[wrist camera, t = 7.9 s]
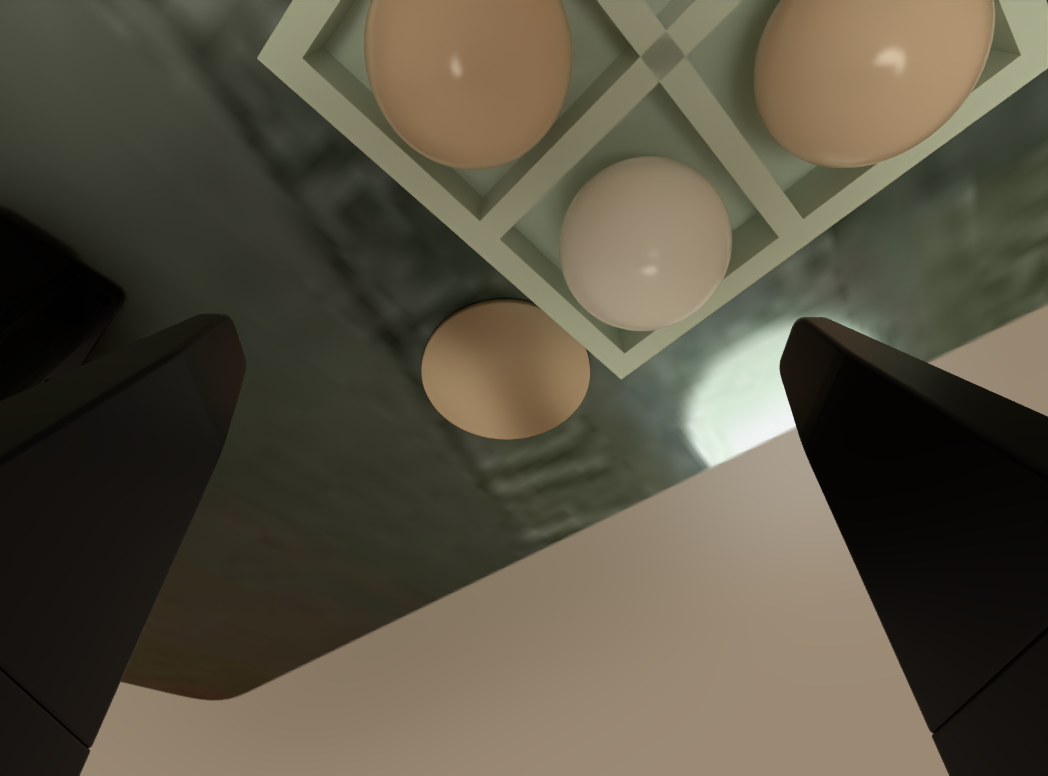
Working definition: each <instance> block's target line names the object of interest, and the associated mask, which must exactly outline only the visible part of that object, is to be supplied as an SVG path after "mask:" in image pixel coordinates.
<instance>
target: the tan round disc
mask: <svg viewBox="0 0 1048 776" xmlns="http://www.w3.org/2000/svg"><path fill="white" fill-rule="evenodd" d="M422 380H423V385H424V388H425V391H426V393H427V396H428V398H429V399H430V401H431V403H432V404H433V405H434V407H435V408H436V409H437V411H438V412H439V413H440V414H441V415H442V416H443V417H445V418H446V419H447V420H448V421H450V422H451V423H453V424H454V425H456V426H458V427H459V428H461V429H463V430H465V431H468V432H470V433H473V434H476V435H479V436H483V437H487V438H495V439H520V438H526V437H531V436H535V435H538V434H541V433H544V432H546V431H548V430H550V429H552V428H554V427H556V426H558V425H559V424H561V423H562V422H564V421H565V420H566V419H567V418H569V417H570V416H571V415H572V414H573V413H574V412H575V411H576V409H577V408H578V407H579V405H580V404H581V402H582V401H583V399H584V397H585V395H586V392H587V389H588V386H589V381H590V365H589V358H588V353H587V350H586V348H585V347H584V346H583V345H581V344H580V343H579V342H578V341H577V340H576V339H575V338H574V337H572V336H571V335H570V334H569V333H568V332H567V331H566V330H564V329H563V328H562V327H561V326H560V325H559V324H558V323H557V322H555V321H554V320H553V319H552V318H551V317H550V316H549V315H547V314H546V313H545V312H544V311H543V310H542V309H541V308H539V307H538V306H537V305H536V304H535V303H532V302H528V301H523V300H517V299H493V300H487V301H482V302H478V303H475V304H472V305H469V306H467V307H465V308H462V309H460V310H458V311H457V312H455V313H454V314H452V315H450V316H449V317H448V318H447V319H445V320H444V321H443V322H442V323H441V324H440V325H439V326H438V327H437V328H436V330H435V331H434V333H433V334H432V336H431V337H430V339H429V341H428V343H427V345H426V349H425V352H424V356H423V360H422Z"/></svg>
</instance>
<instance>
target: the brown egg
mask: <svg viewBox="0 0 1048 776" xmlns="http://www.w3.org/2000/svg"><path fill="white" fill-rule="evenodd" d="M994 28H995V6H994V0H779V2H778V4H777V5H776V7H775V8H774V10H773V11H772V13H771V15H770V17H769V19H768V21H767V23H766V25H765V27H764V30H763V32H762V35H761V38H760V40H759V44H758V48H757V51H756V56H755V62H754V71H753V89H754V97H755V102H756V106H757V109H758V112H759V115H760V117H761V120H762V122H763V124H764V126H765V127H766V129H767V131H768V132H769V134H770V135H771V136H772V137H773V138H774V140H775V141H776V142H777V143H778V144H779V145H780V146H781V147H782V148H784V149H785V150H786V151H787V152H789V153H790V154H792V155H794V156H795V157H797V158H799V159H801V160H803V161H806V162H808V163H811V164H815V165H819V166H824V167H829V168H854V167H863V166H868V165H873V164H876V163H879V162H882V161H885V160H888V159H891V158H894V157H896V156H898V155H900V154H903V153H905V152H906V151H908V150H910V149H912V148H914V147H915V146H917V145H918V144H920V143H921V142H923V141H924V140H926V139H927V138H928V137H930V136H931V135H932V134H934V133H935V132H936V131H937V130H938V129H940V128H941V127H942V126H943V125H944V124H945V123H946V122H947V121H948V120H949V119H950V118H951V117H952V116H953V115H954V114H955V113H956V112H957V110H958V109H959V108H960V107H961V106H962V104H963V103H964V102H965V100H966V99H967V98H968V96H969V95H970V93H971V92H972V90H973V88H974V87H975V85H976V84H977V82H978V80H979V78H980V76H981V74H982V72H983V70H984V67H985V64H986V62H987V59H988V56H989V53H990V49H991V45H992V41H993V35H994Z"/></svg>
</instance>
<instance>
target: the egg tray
mask: <svg viewBox="0 0 1048 776" xmlns="http://www.w3.org/2000/svg"><path fill="white" fill-rule="evenodd" d="M561 1H562V3H563V6H564V9H565V11H566V14H567V18H568V22H569V26H570V31H571V39H572V55H573V64H572V73H571V80H570V85H569V89H568V93H567V96H566V99H565V102H564V105H563V107H562V109H561V111H560V113H559V115H558V117H557V119H556V121H555V122H554V124H553V125H552V127H551V128H550V130H549V131H548V132H547V134H546V135H545V136H544V137H543V138H542V139H541V141H540V142H539V143H538V144H536V145H535V146H534V147H533V148H532V149H531V150H530V151H528V152H527V153H526V154H524V155H523V156H521V157H520V158H518V159H516V160H514V161H512V162H510V163H508V164H505V165H502V166H499V167H495V168H491V169H485V170H462V169H457V168H451V167H448V166H445V165H442V164H439V163H436V162H434V161H432V160H430V159H428V158H426V157H425V156H423V155H421V154H420V153H418V152H417V151H415V150H414V149H413V148H412V147H410V146H409V145H408V144H407V143H406V142H405V141H404V140H403V139H402V138H401V137H400V136H399V135H398V134H397V133H396V132H395V131H394V129H393V128H392V127H391V126H390V124H389V123H388V122H387V120H386V118H385V117H384V115H383V113H382V112H381V110H380V108H379V106H378V104H377V102H376V100H375V98H374V95H373V92H372V89H371V86H370V83H369V80H368V75H367V71H366V66H365V56H364V32H365V25H366V17H367V13H368V9H369V6H370V2H371V0H293V1H292V2H291V4H290V6H289V7H288V9H287V11H286V12H285V14H284V15H283V17H282V19H281V20H280V22H279V23H278V25H277V27H276V28H275V30H274V31H273V33H272V35H271V36H270V38H269V40H268V41H267V43H266V44H265V46H264V48H263V49H262V51H261V52H260V54H259V56H258V57H257V59H258V60H259V61H260V62H261V63H263V64H264V65H265V66H266V67H267V68H268V69H269V70H271V71H272V72H273V73H274V74H275V75H276V76H277V77H278V78H280V79H281V80H282V81H283V82H284V83H285V84H286V85H288V86H289V87H290V88H291V89H292V90H293V91H294V92H295V93H297V94H298V95H299V96H300V97H301V98H302V99H303V100H305V101H306V102H307V103H308V104H309V105H310V106H311V107H313V108H314V109H315V110H316V111H317V112H318V113H319V114H320V115H322V116H323V117H324V118H325V119H326V120H327V121H328V122H330V123H331V124H332V125H333V126H334V127H335V128H336V129H337V130H339V131H340V132H341V133H342V134H343V135H344V136H345V137H347V138H348V139H349V140H350V141H351V142H352V143H353V144H354V145H356V146H357V147H358V148H359V149H360V150H361V151H362V152H364V153H365V154H366V155H367V156H368V157H369V158H370V159H372V160H373V161H374V162H375V163H376V164H377V165H378V166H379V167H381V168H382V169H383V170H384V171H385V172H386V173H387V174H389V175H390V176H391V177H392V178H393V179H394V180H395V181H396V182H398V183H399V184H400V185H401V186H402V187H403V188H404V189H406V190H407V191H408V192H409V193H410V194H411V195H412V196H414V197H415V198H416V199H417V200H418V201H419V202H420V203H421V204H423V205H424V206H425V207H426V208H427V209H428V210H429V211H431V212H432V213H433V214H434V215H435V216H436V217H437V218H438V219H440V220H441V221H442V222H443V223H444V224H445V225H446V226H448V227H449V228H450V229H451V230H452V231H453V232H454V233H455V234H457V235H458V236H459V237H460V238H461V239H462V240H463V241H465V242H466V243H467V244H468V245H469V246H470V247H471V248H473V249H474V250H475V251H476V252H477V253H478V254H479V255H480V256H482V257H483V258H484V259H485V260H486V261H487V262H488V263H490V264H491V265H492V266H493V267H494V268H495V269H496V270H497V271H499V272H500V273H501V274H502V275H503V276H504V277H505V278H507V279H508V280H509V281H510V282H511V283H512V284H513V285H515V286H516V287H517V288H518V289H519V290H520V291H521V292H522V293H524V294H525V295H526V296H527V297H528V298H529V299H530V300H532V301H533V302H534V303H535V304H536V305H537V306H538V307H539V308H541V309H542V310H543V311H544V312H545V313H546V314H547V315H549V316H550V317H551V318H552V319H553V320H554V321H555V322H557V323H558V324H559V325H560V326H561V327H562V328H563V329H564V330H566V331H567V332H568V333H569V334H570V335H571V336H572V337H574V338H575V339H576V340H577V341H578V342H579V343H580V344H581V345H583V346H584V347H585V348H586V349H587V350H588V351H589V352H591V353H592V354H593V355H594V356H595V357H596V358H597V359H598V360H600V361H601V362H602V363H603V364H604V365H605V366H606V367H608V368H609V369H610V370H611V371H612V372H613V373H614V374H616V375H617V376H618V377H619V378H620V379H623V378H624V377H625V376H627V375H628V374H630V373H631V372H632V371H634V370H635V369H636V368H638V367H639V366H641V365H642V364H643V363H645V362H646V361H647V360H649V359H650V358H651V357H653V356H654V355H656V354H657V353H658V352H660V351H661V350H662V349H664V348H665V347H667V346H668V345H669V344H671V343H672V342H673V341H675V340H676V339H678V338H679V337H680V336H682V335H683V334H684V333H686V332H687V331H688V330H690V329H691V328H693V327H694V326H695V325H697V324H698V323H699V322H701V321H702V320H704V319H705V318H706V317H708V316H709V315H710V314H712V313H713V312H714V311H716V310H717V309H719V308H720V307H721V306H723V305H724V304H725V303H727V302H728V301H730V300H731V299H732V298H734V297H735V296H736V295H738V294H739V293H741V292H742V291H743V290H745V289H746V288H747V287H749V286H750V285H751V284H753V283H754V282H756V281H757V280H758V279H760V278H761V277H762V276H764V275H765V274H767V273H768V272H769V271H771V270H772V269H773V268H775V267H776V266H777V265H779V264H780V263H782V262H783V261H784V260H786V259H787V258H788V257H790V256H791V255H793V254H794V253H795V252H797V251H798V250H799V249H801V248H802V247H803V246H805V245H806V244H808V243H809V242H810V241H812V240H813V239H814V238H816V237H817V236H819V235H820V234H821V233H823V232H824V231H825V230H827V229H828V228H830V227H831V226H832V225H834V224H835V223H836V222H838V221H839V220H840V219H842V218H843V217H845V216H846V215H847V214H849V213H850V212H851V211H853V210H854V209H856V208H857V207H858V206H860V205H861V204H862V203H864V202H865V201H866V200H868V199H869V198H871V197H872V196H873V195H875V194H876V193H877V192H879V191H880V190H882V189H883V188H884V187H886V186H887V185H888V184H890V183H891V182H893V181H894V180H895V179H897V178H898V177H899V176H901V175H902V174H903V173H905V172H906V171H908V170H909V169H910V168H912V167H913V166H914V165H916V164H917V163H919V162H920V161H921V160H923V159H924V158H925V157H927V156H928V155H929V154H931V153H932V152H934V151H935V150H936V149H938V148H939V147H940V146H942V145H943V144H945V143H946V142H947V141H949V140H950V139H951V138H953V137H954V136H956V135H957V134H958V133H960V132H961V131H962V130H964V129H965V128H966V127H968V126H969V125H971V124H972V123H973V122H975V121H976V120H977V119H979V118H980V117H982V116H983V115H984V114H986V113H987V112H988V111H990V110H991V109H992V108H994V107H995V106H997V105H998V104H999V103H1001V102H1002V101H1003V100H1005V99H1006V98H1008V97H1009V96H1010V95H1012V94H1013V93H1014V92H1016V91H1017V90H1018V89H1020V88H1021V87H1023V86H1024V85H1025V84H1027V83H1028V82H1029V81H1031V80H1032V79H1034V78H1035V77H1036V76H1038V75H1039V74H1040V73H1042V72H1043V71H1045V70H1046V69H1047V68H1048V4H1047V2H1046V0H994V6H995V28H994V35H993V41H992V45H991V49H990V53H989V56H988V59H987V62H986V64H985V67H984V70H983V72H982V74H981V76H980V78H979V80H978V82H977V84H976V85H975V87H974V88H973V90H972V92H971V93H970V95H969V96H968V98H967V99H966V100H965V102H964V103H963V104H962V106H961V107H960V108H959V109H958V110H957V112H956V113H955V114H954V115H953V116H952V117H951V118H950V119H949V120H948V121H947V122H946V123H945V124H944V125H943V126H942V127H941V128H940V129H938V130H937V131H936V132H935V133H934V134H932V135H931V136H930V137H928V138H927V139H926V140H924V141H923V142H921V143H920V144H918V145H917V146H915V147H914V148H912V149H910V150H908V151H906V152H905V153H903V154H900V155H898V156H896V157H894V158H891V159H888V160H885V161H882V162H879V163H876V164H873V165H868V166H863V167H854V168H829V167H824V166H819V165H815V164H811V163H808V162H806V161H803V160H801V159H799V158H797V157H795V156H794V155H792V154H790V153H789V152H787V151H786V150H785V149H784V148H782V147H781V146H780V145H779V144H778V143H777V142H776V141H775V140H774V138H773V137H772V136H771V135H770V134H769V132H768V131H767V129H766V127H765V126H764V124H763V122H762V120H761V117H760V115H759V112H758V109H757V106H756V102H755V97H754V89H753V71H754V62H755V56H756V51H757V48H758V44H759V40H760V38H761V35H762V32H763V30H764V27H765V25H766V23H767V21H768V19H769V17H770V15H771V13H772V11H773V10H774V8H775V7H776V5H777V4H778V2H779V0H561ZM640 156H661V157H666V158H671V159H674V160H677V161H680V162H682V163H685V164H687V165H689V166H691V167H693V168H694V169H696V170H697V171H698V172H700V173H701V174H702V175H703V176H705V177H706V178H707V179H708V180H709V181H710V182H711V183H712V184H713V185H714V187H715V188H716V190H717V191H718V193H719V194H720V196H721V197H722V199H723V201H724V203H725V205H726V207H727V210H728V214H729V217H730V221H731V227H732V252H731V258H730V262H729V265H728V268H727V271H726V274H725V276H724V278H723V280H722V282H721V284H720V286H719V287H718V289H717V291H716V292H715V293H714V295H713V296H712V297H711V298H710V300H709V301H708V302H707V303H706V304H705V305H704V306H703V307H702V308H700V309H699V310H698V311H697V312H696V313H694V314H693V315H691V316H690V317H688V318H687V319H685V320H683V321H681V322H679V323H677V324H675V325H672V326H669V327H666V328H662V329H657V330H651V331H631V330H624V329H620V328H617V327H614V326H611V325H609V324H606V323H604V322H602V321H600V320H599V319H597V318H595V317H594V316H593V315H591V314H590V313H589V312H588V311H586V310H585V309H584V308H583V307H582V306H581V305H580V304H579V303H578V301H577V300H576V299H575V297H574V296H573V294H572V293H571V291H570V290H569V288H568V286H567V284H566V282H565V279H564V276H563V273H562V270H561V265H560V260H559V236H560V230H561V226H562V222H563V219H564V217H565V214H566V211H567V209H568V207H569V205H570V203H571V201H572V200H573V198H574V197H575V195H576V194H577V193H578V191H579V190H580V189H581V188H582V187H583V186H584V185H585V183H586V182H587V181H589V180H590V179H591V178H592V177H593V176H594V175H596V174H597V173H599V172H600V171H602V170H603V169H605V168H606V167H608V166H610V165H612V164H614V163H617V162H620V161H623V160H625V159H629V158H634V157H640Z"/></svg>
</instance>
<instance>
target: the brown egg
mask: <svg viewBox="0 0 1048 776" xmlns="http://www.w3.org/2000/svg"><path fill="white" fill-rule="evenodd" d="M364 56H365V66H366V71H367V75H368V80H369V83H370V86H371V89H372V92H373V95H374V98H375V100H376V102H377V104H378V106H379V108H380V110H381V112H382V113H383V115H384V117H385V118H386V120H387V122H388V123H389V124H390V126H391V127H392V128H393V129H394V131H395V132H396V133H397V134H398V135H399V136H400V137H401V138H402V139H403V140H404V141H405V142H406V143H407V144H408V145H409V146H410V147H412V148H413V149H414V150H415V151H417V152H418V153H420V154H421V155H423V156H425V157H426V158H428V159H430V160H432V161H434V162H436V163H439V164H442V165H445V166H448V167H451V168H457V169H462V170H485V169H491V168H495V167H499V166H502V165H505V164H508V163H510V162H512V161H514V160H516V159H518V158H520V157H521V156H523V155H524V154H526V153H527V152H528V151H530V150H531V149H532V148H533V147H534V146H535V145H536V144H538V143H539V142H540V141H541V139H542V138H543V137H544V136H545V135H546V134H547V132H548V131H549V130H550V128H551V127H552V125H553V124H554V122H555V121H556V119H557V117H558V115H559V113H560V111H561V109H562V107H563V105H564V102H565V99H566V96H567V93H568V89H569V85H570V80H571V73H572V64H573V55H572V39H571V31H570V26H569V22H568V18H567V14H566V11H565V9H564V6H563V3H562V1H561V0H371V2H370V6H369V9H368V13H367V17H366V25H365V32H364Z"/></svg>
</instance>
